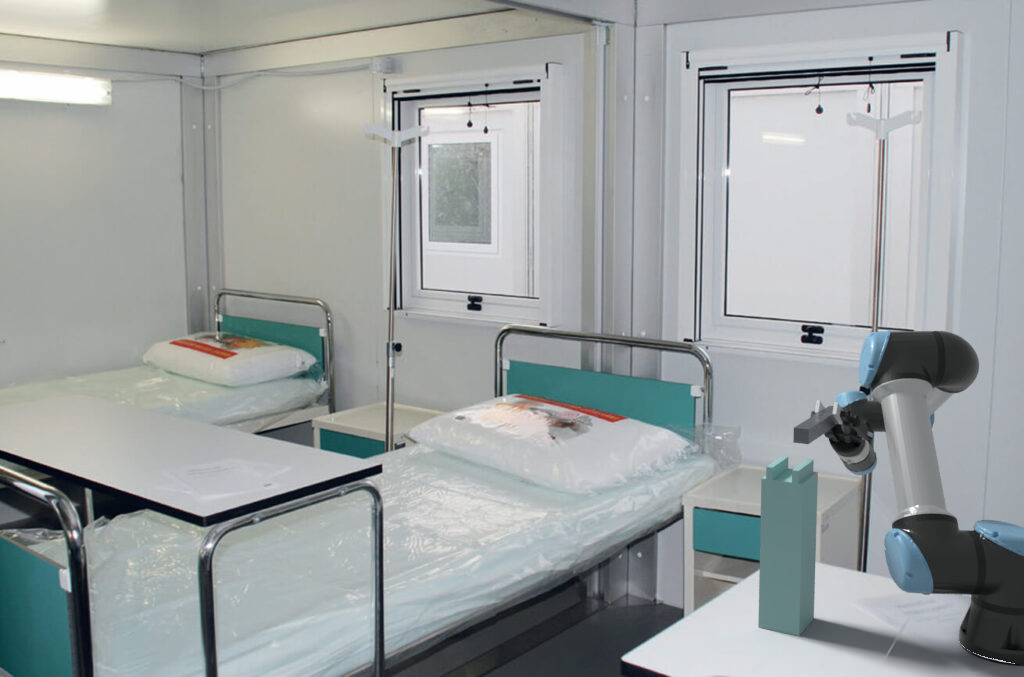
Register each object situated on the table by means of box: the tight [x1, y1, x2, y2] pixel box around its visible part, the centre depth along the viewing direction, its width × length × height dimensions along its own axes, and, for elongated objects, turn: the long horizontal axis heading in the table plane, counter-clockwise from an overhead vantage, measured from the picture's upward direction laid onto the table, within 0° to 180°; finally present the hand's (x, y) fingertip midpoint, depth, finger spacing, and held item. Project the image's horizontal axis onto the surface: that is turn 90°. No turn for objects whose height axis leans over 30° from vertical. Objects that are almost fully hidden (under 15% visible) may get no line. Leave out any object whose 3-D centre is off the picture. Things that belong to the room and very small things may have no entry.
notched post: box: [757, 455, 819, 637], centre depth 195 cm, size 10×8×32 cm
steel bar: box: [792, 405, 843, 445], centre depth 207 cm, size 26×3×3 cm, turn 147°
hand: (826, 407), depth 211 cm, fingers closed on steel bar, 3 cm apart
